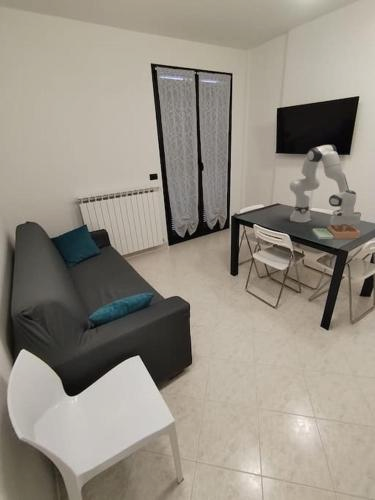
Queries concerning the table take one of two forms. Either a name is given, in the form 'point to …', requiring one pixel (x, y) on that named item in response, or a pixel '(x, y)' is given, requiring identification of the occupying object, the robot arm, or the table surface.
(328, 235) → the green tray
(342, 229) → the birch cylinder
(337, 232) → the orange hollow square box
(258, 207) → the table surface
